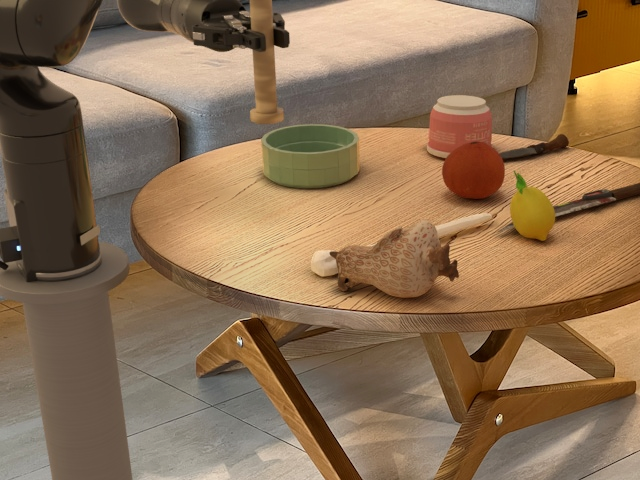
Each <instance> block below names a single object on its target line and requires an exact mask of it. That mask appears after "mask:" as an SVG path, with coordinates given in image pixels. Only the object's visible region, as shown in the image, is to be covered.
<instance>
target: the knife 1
mask: <svg viewBox="0 0 640 480" xmlns="http://www.w3.org/2000/svg"><path fill="white" fill-rule="evenodd" d="M569 144H570V141H569V139H568V137H567V136H566V135H565V134H564V133H559V134H558V135H557V136H556V137H555V138H553V139H552V140H550V141H548V142H540V143H537V144H531V145H528V146H526V147H520V148H514V149H510V150H506V151H503V152H498V153H499V154H500V156H501V157H502V160H505V159H513V158H521V157H526V156H535V155H540V154H544V153H546V152H552V151H554V150H556V149H557V150H558V149H560V148H563V149H564V148H567V147H568V146H569Z"/></svg>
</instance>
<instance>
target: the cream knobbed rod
mask: <svg viewBox="0 0 640 480" xmlns="http://www.w3.org/2000/svg"><path fill="white" fill-rule="evenodd" d="M491 219H493V215H492V214H490V213H488V212H484V213H477V214H472V215H469V216H465V217H461V218H457V219H455V220H451V221H448V222H445V223H441V224H438V225H434V226H435V228H436V230H437V234H438V238H439V239H441V238H444V237H447V236H449V235H452V234H455V233H458V232H461V231H464V230H467V229H470V228H472V227H476V226H478V225H480V224H483V223H486V222H489V221H490V220H491ZM376 244H377V243H374V244H370V245H368V246H373V245H376ZM331 251H333V250H331V249H327V250H325V249H319V250H315V252H314V253H313V254H312V255H311V256H312V257H311V260H310V270H311V272H313V273H314V274H316V275H318V276H319V277H322V278H324V277H331V276H334V275H337V274H338V268H337V264H336V259H335V258H333V257H332V256H331V255H330V252H331Z"/></svg>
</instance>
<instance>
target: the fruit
mask: <svg viewBox="0 0 640 480" xmlns="http://www.w3.org/2000/svg"><path fill="white" fill-rule="evenodd" d="M499 153H500V152H499V151H497V150H496V149H495V148H494V146H493V147H491V146H489V145H488V144H486V143H484V142H479V141H474V142H470V143H467V144H463V145H461V146H460V147H458V148H456V149H455V150H453V151H452V152H451V153H450V154H449V155H448V156H447V158H444V162H443V163H442V168H441V174H442V179H443V182H444V184H445V186H446V188H447V189H448V190H449V191H450V192H452V193H453V194H455V195H456V196H458V197H461V198H464V199H473V200H482V199H486V198H488V197H490V196H492V195H493V194H495V193H496V192H497V191H498V190H499V189H500V188H501V187H502V185H503V183H504V180H505V176H506V167H505V163H504V159H502V157H501V156H500V154H499Z"/></svg>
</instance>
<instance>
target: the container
mask: <svg viewBox="0 0 640 480" xmlns="http://www.w3.org/2000/svg"><path fill="white" fill-rule="evenodd" d="M436 101H437V103H435V104H434V105H433V107H432V109H431V111H430V114H429V130H428V142H426V151H427V152H428V154H431V155H432V156H435V157H438V158H442V159H446V158H447V156H448V155H449V154H450V153H451V152H452V151H453V150H455V149H456V148H458V147H460V146H461V145H463V144H467V143H470V142H474V141H479V142H484V143H486V144H488V145H489V146H491V147H493V148H494V146H493V144H492V140H493V137H492V136H493V134H492V133H493V117H492V112H491V109H490V107H489V106H488V105H487V101H486V99H484V98H482V97H479V96H474V95H465V94H463V95H462V94H461V95H460V94H455V95H445V96H441V97H439V98H437V100H436Z"/></svg>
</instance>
